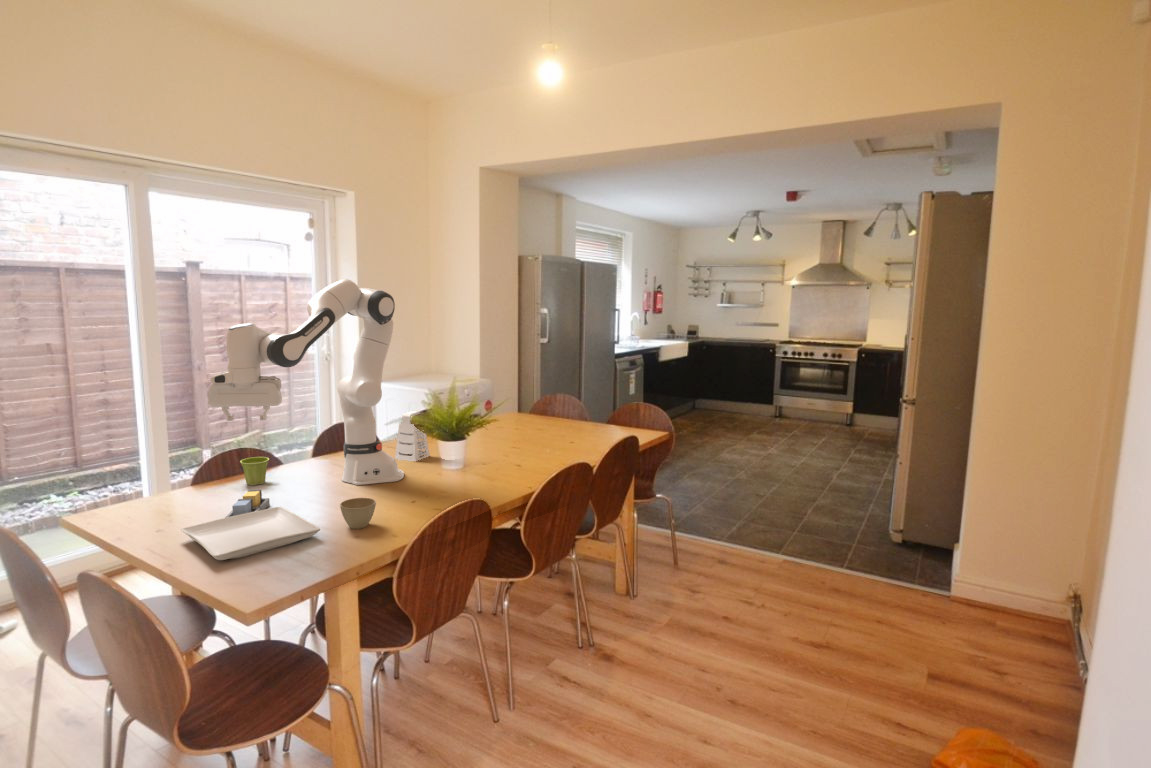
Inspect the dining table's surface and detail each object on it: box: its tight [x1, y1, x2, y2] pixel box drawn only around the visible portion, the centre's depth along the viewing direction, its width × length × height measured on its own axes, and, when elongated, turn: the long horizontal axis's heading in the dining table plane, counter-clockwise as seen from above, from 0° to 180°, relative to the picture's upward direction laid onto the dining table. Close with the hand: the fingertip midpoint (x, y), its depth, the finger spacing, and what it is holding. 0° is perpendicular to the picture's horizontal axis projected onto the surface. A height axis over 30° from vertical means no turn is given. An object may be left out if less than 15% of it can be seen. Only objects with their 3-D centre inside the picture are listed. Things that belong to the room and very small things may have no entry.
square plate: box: [181, 506, 321, 561], centre depth 167 cm, size 27×27×4 cm
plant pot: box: [239, 456, 270, 486], centre depth 220 cm, size 9×9×9 cm
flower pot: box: [339, 497, 377, 530], centre depth 178 cm, size 10×10×7 cm
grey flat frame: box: [224, 497, 270, 518], centre depth 187 cm, size 8×18×2 cm, turn 12°
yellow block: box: [242, 489, 263, 507], centre depth 191 cm, size 4×6×5 cm, turn 12°
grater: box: [394, 410, 431, 463], centre depth 258 cm, size 10×10×20 cm
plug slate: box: [232, 498, 253, 516], centre depth 182 cm, size 4×6×5 cm, turn 12°
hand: (246, 420), depth 187 cm, fingers open, 8 cm apart
